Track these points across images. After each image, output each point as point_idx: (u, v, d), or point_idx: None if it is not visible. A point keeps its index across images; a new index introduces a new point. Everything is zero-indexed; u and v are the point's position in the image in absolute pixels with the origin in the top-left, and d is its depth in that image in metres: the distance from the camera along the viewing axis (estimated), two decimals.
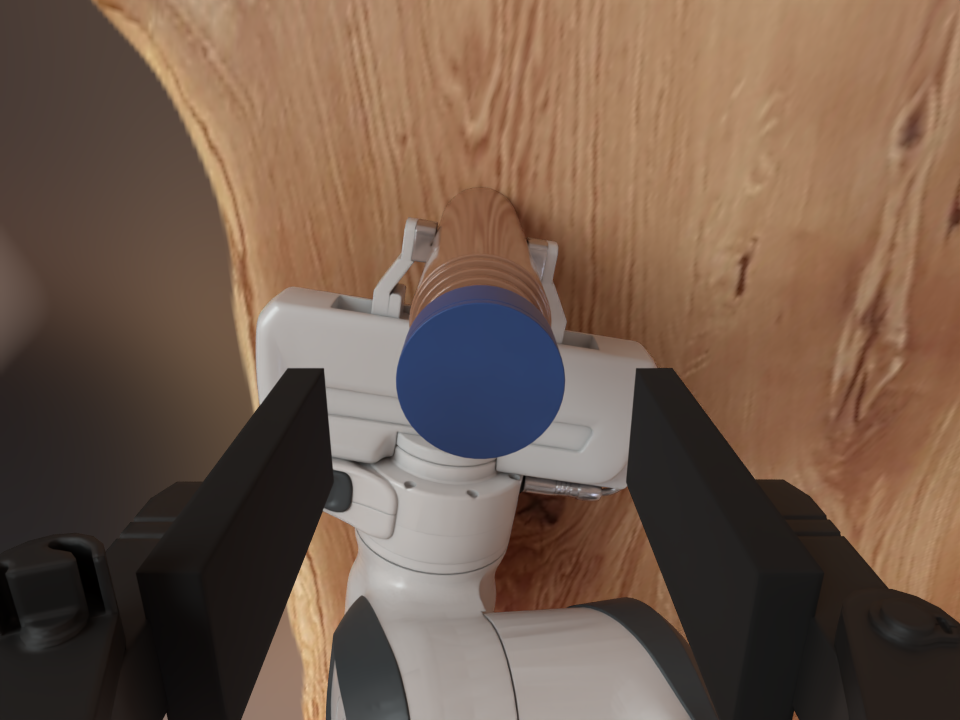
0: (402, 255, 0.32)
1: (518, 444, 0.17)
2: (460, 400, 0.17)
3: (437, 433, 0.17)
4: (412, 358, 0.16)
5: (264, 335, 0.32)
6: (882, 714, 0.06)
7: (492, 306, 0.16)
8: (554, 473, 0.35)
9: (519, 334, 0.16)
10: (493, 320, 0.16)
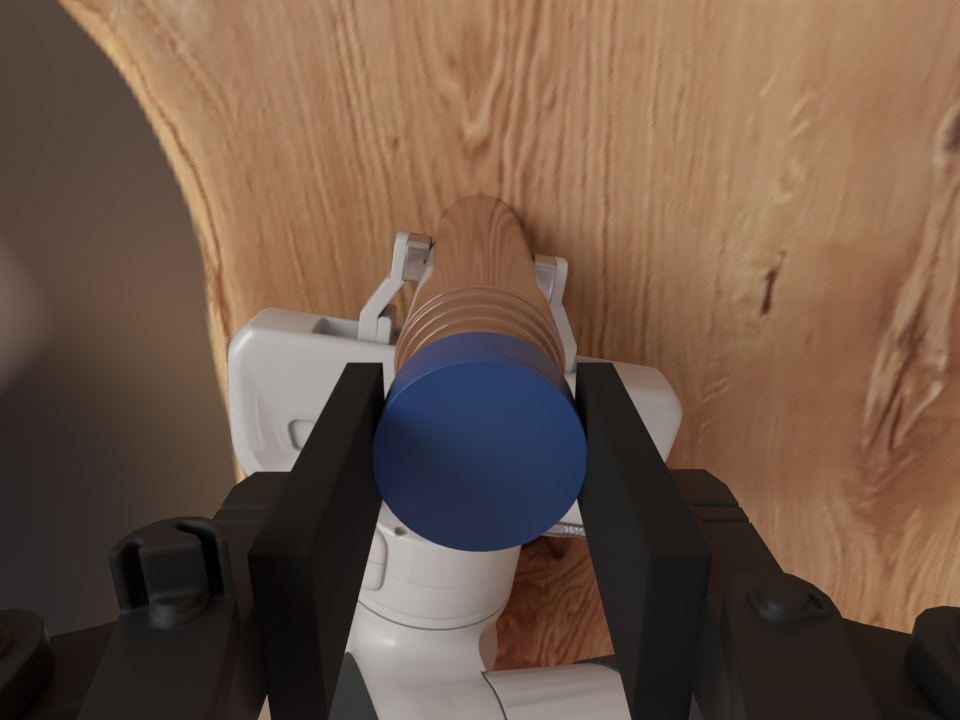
0: (392, 274, 0.28)
1: (528, 534, 0.13)
2: (454, 481, 0.13)
3: (425, 521, 0.13)
4: (392, 429, 0.13)
5: (236, 364, 0.28)
6: (758, 693, 0.06)
7: (495, 365, 0.12)
8: None
9: (529, 399, 0.12)
10: (496, 382, 0.12)
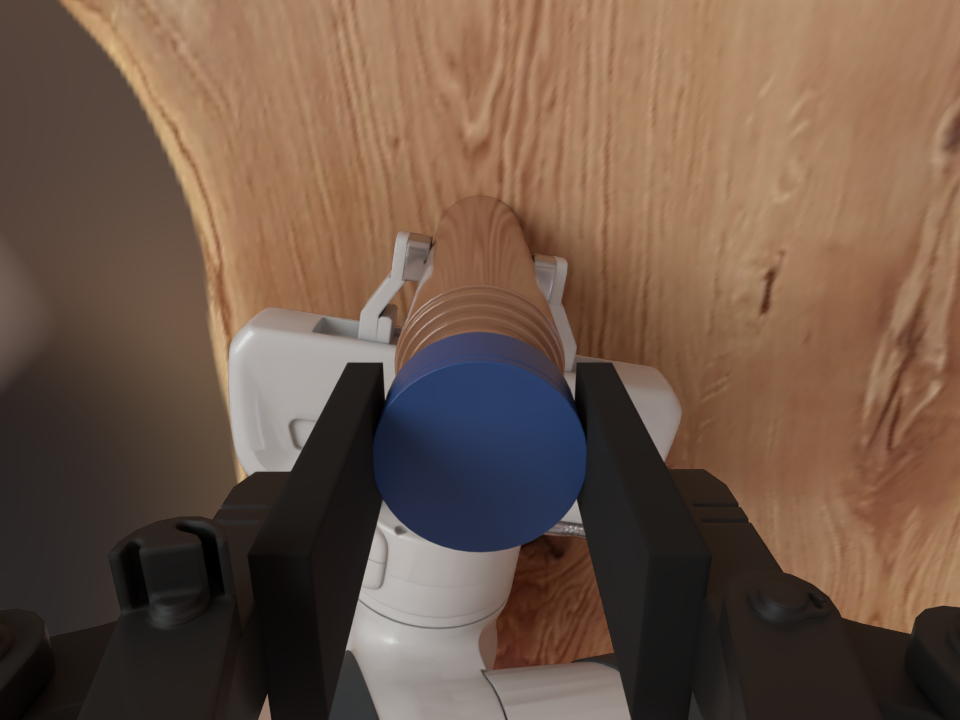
0: (392, 274, 0.28)
1: (569, 420, 0.13)
2: (500, 485, 0.13)
3: (544, 513, 0.13)
4: (442, 533, 0.13)
5: (237, 363, 0.28)
6: (757, 693, 0.06)
7: (374, 446, 0.13)
8: None
9: (412, 416, 0.12)
10: (393, 445, 0.13)
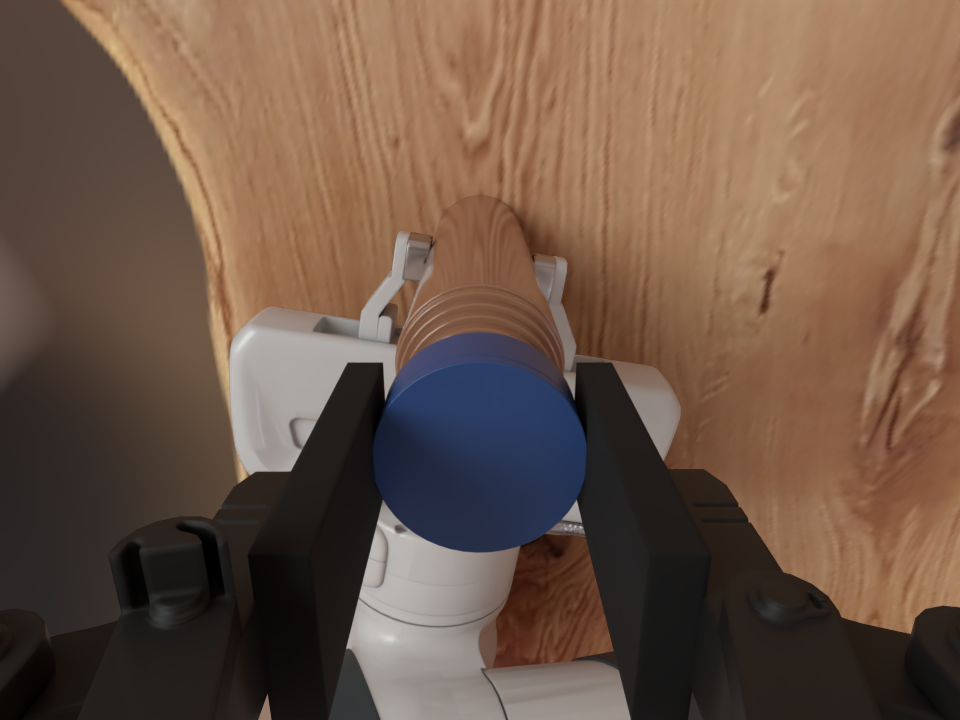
0: (392, 273, 0.28)
1: (434, 380, 0.12)
2: (507, 444, 0.13)
3: (544, 404, 0.12)
4: (560, 499, 0.13)
5: (238, 363, 0.29)
6: (758, 693, 0.06)
7: (457, 550, 0.14)
8: None
9: (427, 516, 0.13)
10: (457, 534, 0.13)
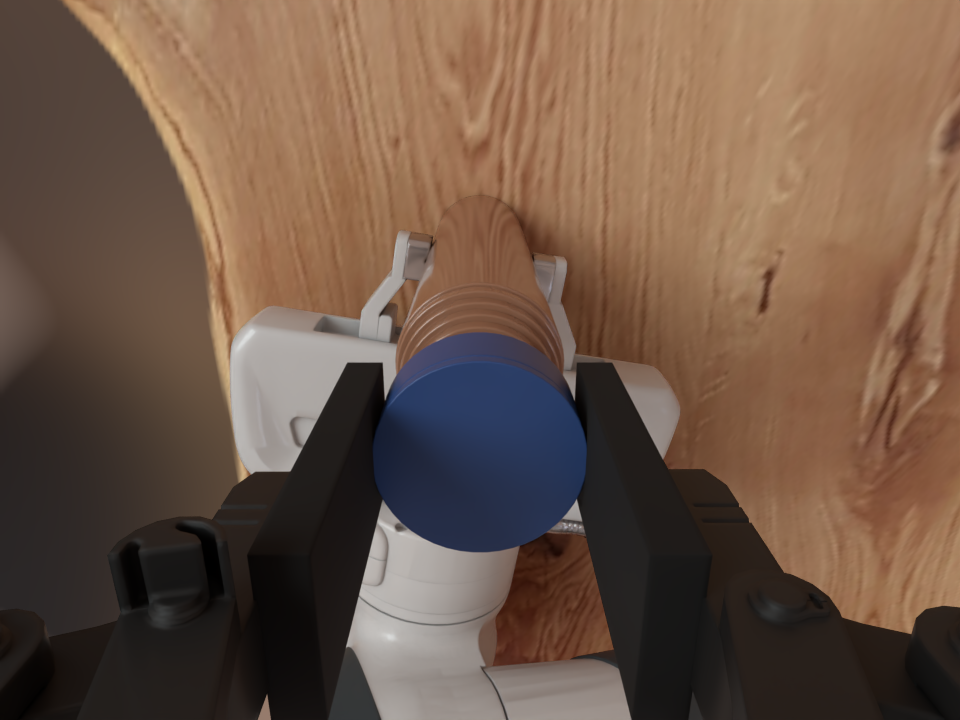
0: (393, 273, 0.28)
1: (390, 497, 0.13)
2: (460, 437, 0.13)
3: (415, 403, 0.12)
4: (527, 388, 0.12)
5: (239, 361, 0.29)
6: (758, 693, 0.06)
7: (580, 487, 0.13)
8: None
9: (539, 510, 0.13)
10: (561, 485, 0.13)
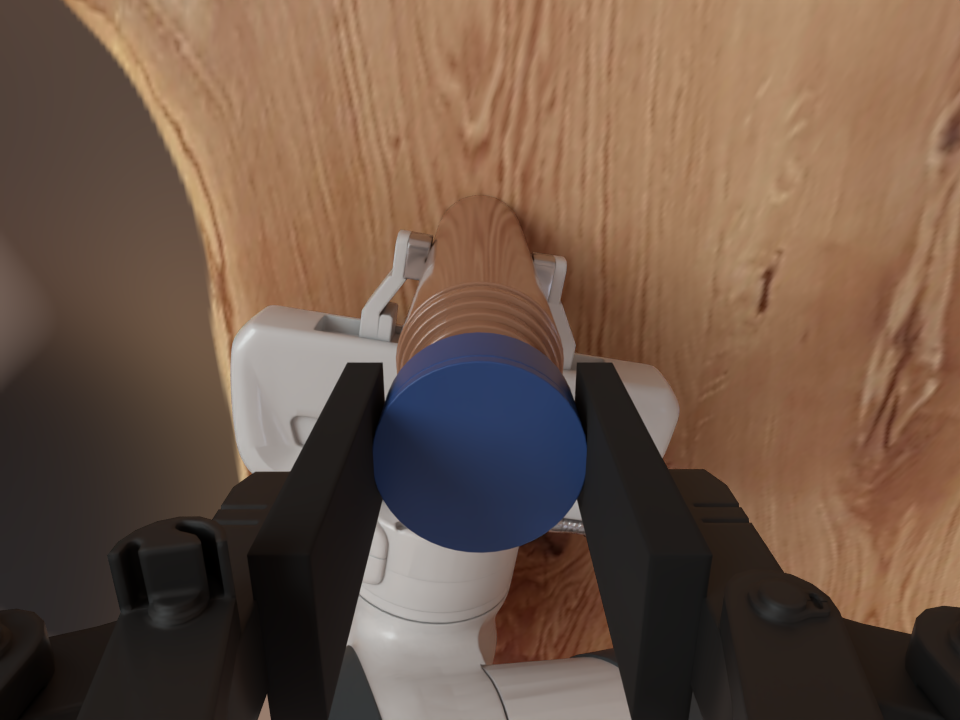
0: (393, 272, 0.28)
1: (513, 541, 0.13)
2: (450, 478, 0.13)
3: (414, 513, 0.13)
4: (398, 418, 0.13)
5: (239, 361, 0.29)
6: (758, 693, 0.06)
7: (513, 370, 0.12)
8: None
9: (540, 409, 0.12)
10: (511, 387, 0.12)
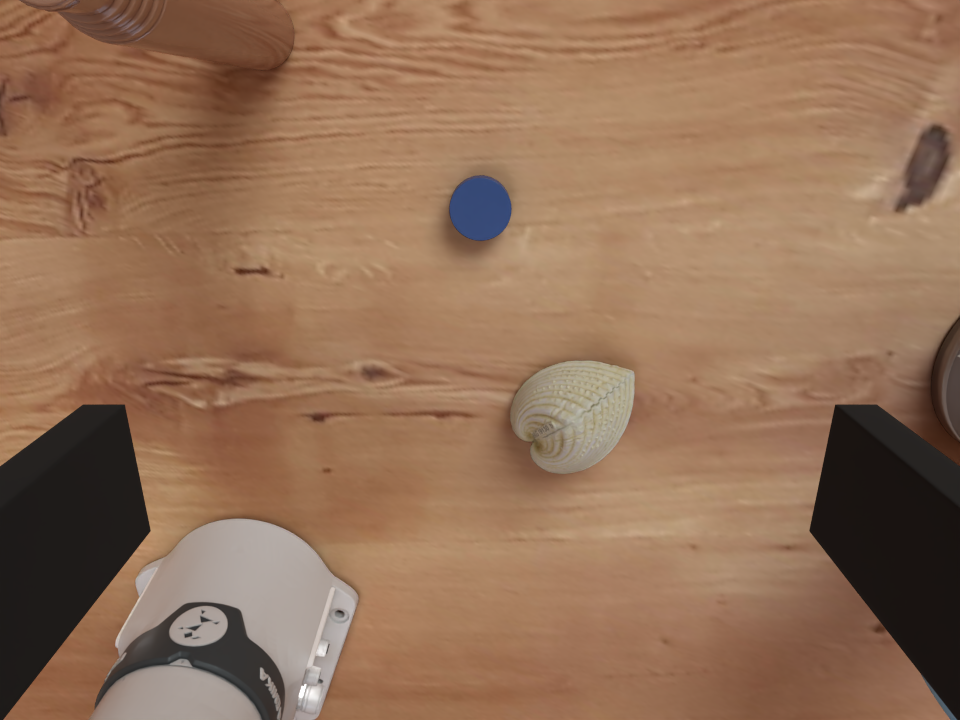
0: None
1: (490, 236, 0.46)
2: (472, 214, 0.45)
3: (461, 226, 0.45)
4: (457, 195, 0.45)
5: None
6: None
7: (489, 180, 0.44)
8: None
9: (497, 192, 0.45)
10: (489, 185, 0.44)
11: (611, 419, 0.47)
